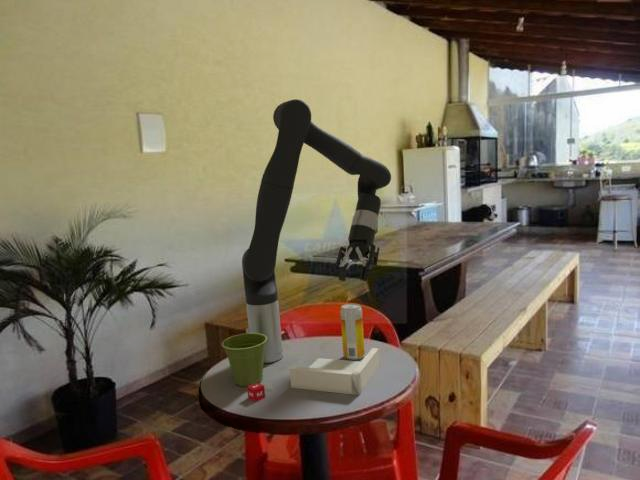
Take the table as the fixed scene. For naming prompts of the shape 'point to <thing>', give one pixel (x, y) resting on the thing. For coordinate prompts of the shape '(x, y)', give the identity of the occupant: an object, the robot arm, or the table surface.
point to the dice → (256, 392)
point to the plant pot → (246, 357)
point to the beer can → (352, 331)
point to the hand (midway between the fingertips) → (352, 280)
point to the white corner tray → (336, 374)
